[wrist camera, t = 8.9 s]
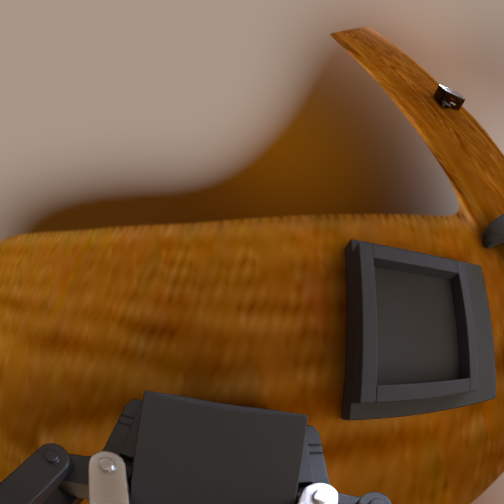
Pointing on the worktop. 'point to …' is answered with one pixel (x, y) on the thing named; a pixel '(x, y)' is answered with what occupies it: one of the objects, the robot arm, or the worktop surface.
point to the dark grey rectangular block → (215, 453)
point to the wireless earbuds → (448, 98)
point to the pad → (414, 334)
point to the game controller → (494, 233)
